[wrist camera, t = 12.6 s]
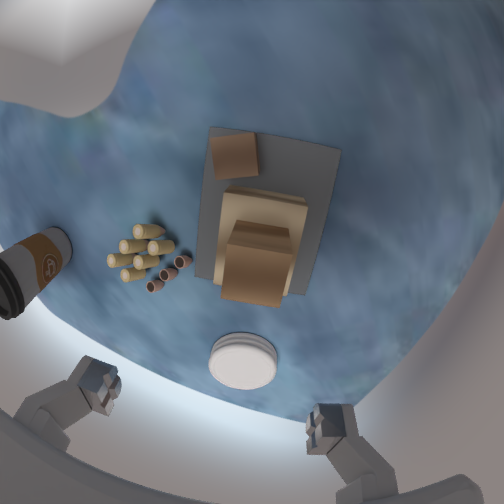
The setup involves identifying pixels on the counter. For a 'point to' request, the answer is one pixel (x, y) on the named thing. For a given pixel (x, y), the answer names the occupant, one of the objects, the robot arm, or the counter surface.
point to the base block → (259, 220)
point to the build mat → (275, 180)
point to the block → (235, 156)
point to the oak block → (256, 264)
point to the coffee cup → (30, 269)
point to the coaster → (243, 361)
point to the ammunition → (146, 256)
